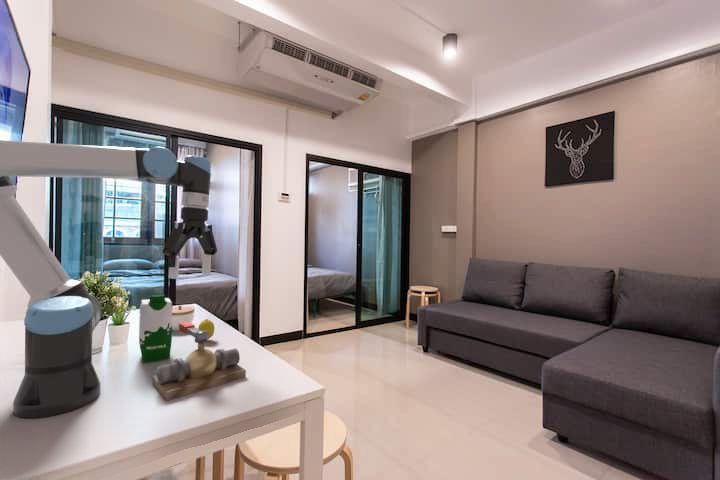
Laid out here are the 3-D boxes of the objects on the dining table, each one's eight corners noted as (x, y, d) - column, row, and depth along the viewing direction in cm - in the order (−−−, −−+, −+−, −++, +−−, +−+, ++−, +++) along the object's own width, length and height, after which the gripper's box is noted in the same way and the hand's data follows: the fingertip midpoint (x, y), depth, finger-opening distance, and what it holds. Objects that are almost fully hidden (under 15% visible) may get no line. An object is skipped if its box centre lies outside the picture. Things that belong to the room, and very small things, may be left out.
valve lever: (209, 341, 92) (209, 332, 92) (197, 343, 90) (197, 334, 90) (189, 328, 102) (189, 320, 102) (177, 330, 100) (178, 322, 100)
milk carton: (139, 364, 101) (141, 298, 101) (138, 355, 108) (139, 292, 108) (173, 358, 106) (174, 295, 106) (169, 350, 114) (170, 290, 113)
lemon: (196, 343, 121) (196, 321, 121) (199, 338, 126) (199, 317, 126) (212, 342, 122) (213, 320, 122) (215, 337, 128) (215, 316, 128)
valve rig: (166, 400, 81) (167, 357, 80) (152, 383, 89) (152, 344, 89) (245, 376, 95) (246, 339, 95) (226, 364, 103) (227, 330, 103)
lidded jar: (167, 325, 142) (168, 303, 142) (196, 324, 145) (196, 302, 145) (161, 333, 132) (161, 309, 131) (191, 331, 135) (192, 308, 135)
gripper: (173, 203, 91) (168, 281, 91) (230, 212, 116) (226, 274, 116) (150, 202, 93) (145, 279, 93) (212, 211, 117) (208, 272, 118)
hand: (190, 276), depth 104 cm, fingers open, 13 cm apart
